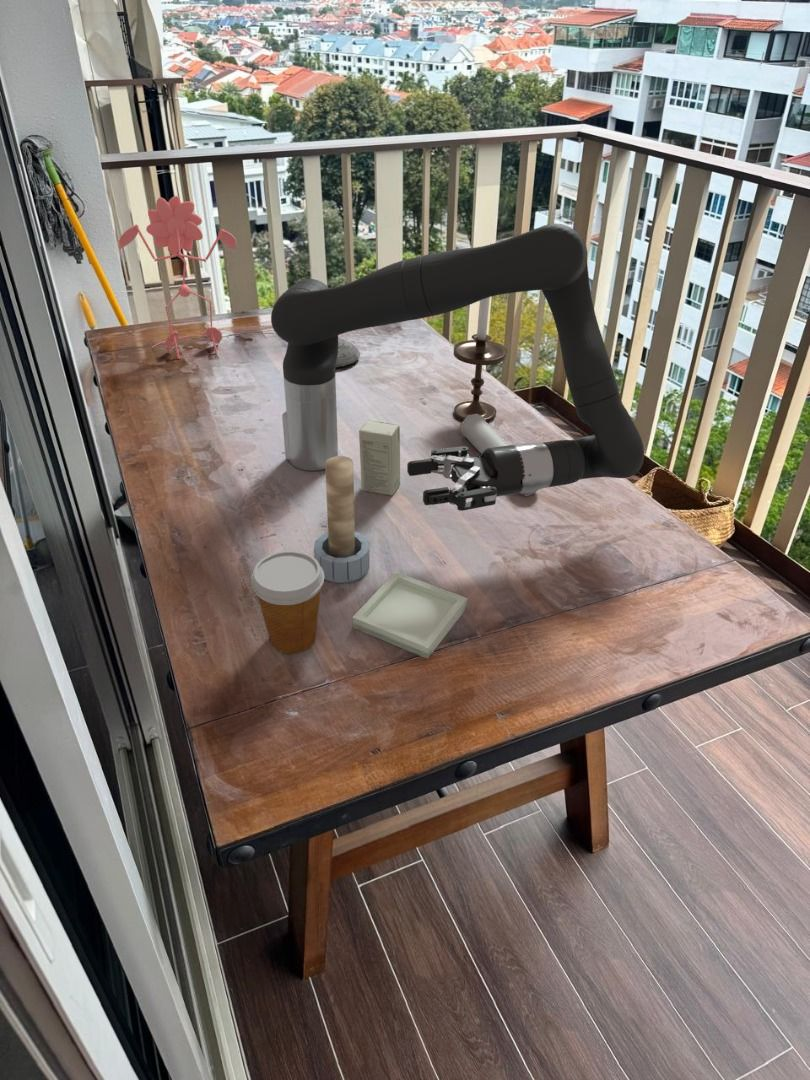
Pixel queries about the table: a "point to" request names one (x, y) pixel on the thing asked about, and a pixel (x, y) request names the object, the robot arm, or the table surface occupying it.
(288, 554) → the disposable coffee cup
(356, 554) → the holder
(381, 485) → the skincare box
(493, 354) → the candlestick
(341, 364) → the flying saucer
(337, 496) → the dowel
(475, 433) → the tube
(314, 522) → the table surface
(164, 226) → the figurine
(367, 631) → the tray
